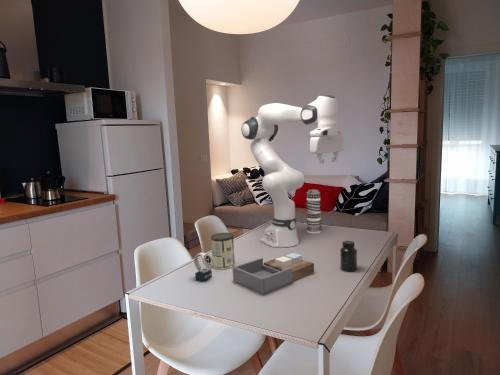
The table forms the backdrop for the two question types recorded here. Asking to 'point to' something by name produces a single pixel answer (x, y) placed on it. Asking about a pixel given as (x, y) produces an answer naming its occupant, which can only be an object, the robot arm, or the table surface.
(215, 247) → the coffee can
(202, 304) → the table surface
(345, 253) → the supplement bottle
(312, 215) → the decorative candle
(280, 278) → the box
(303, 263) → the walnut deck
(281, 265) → the cream tile
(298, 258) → the pale blue brick
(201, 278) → the watch
